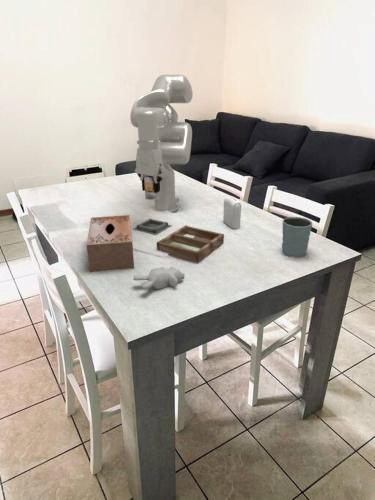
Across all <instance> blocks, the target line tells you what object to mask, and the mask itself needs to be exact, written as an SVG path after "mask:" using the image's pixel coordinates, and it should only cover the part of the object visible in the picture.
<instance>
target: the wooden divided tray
mask: <svg viewBox="0 0 375 500" xmlns="http://www.w3.org/2000/svg"><path fill="white" fill-rule="evenodd" d="M186 235H190V236H193V237H189V236H186ZM224 239H225V233H220V232H216V231H211V230H208V229H207V230H206V229H202V228H198V227H193V226H190V225H183V226H182V227H180V228H179V229H177V230H176V231H174V232H172V233H169V235H167V236H165V237H163V238H162V239H160V240H159V241H157V242H156V251H161V252H163V253H167V256H171V257H174V258H178V259H180V260H181V259H182V260H185V261H188V262H192V263H195V264H199V263H201V262H202V261H203V260H205V259H206V258H207V257H208V256H209V255H211V254H212V253H213V252H215V251H216V250H217V249H218V248H220V247H221V246H222V245H223V244H224Z"/></svg>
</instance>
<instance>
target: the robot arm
mask: <svg viewBox="0 0 375 500" xmlns="http://www.w3.org/2000/svg"><path fill="white" fill-rule="evenodd" d="M192 98H193V88H192V85H191V83H190V81H189V79H188V78H187V77H186V76H185V75H183V74H161V75H159V76H157V77H156V79H155V81H154V84H153V86H152V89H151V90H150V92H148V93H146V94H144V95H141V96H139V98H138V99H136V100H135V101H134V103H133V105H132V108H131V110H130V116H129V117H130V118H129V119H130V123H131V124H132V126H133V127H134V128H137V137H138V138H137V139H138V140H137V141H136V144H138V147H137V149H136V160H135V167H136V168H135V169H134V172H135V173H136V175H137V176H138V178H139V180H140V181H141V187H142V188H141V189H142V191H143V192H145V186H144V175H147V176H153V178H154V181H155V183H154V193H157V192H158V198H157V199H154V202H155V203H154V204H155V205H153V206H152V207H151V208H152V210H153V211H155V212H159V213H176V212H178V211H179V206H178V205H177V203H178V202H179V201H180V198H179V197H176V179H175V178H176V174H175V171H174V169H173V168H172V166H171V165H186V164H188V163H189V161H190V157H191V151H192V150H191V149H192V142H193V141H192V139H193V129H192V126H191V124H190V123H188V122H187V121H184V122H183V121H178V120H179V116H178V115H179V113H177V110H175V108H174V107H173V106H172V105H171V104H189V103H191V102H192Z"/></svg>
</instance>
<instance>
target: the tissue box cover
mask: <svg viewBox="0 0 375 500" xmlns="http://www.w3.org/2000/svg"><path fill="white" fill-rule="evenodd" d="M132 237H133V236H132V227H131V221H130V215H128V214H124V215H114V216H113V215H111V216H109V215H108V216H96V217H93V216H92V217H90V220H89V228H88V233H87V241H86V250H87V258H88V267H89V272H90V273H93V272H94V273H95V272H105V271H117V270H118V271H119V270H120V271H121V270H129V269H135V260H134V259H135V258H134V248H133V247H134V246H133V245H134V244H133V238H132Z"/></svg>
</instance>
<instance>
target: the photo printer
mask: <svg viewBox="0 0 375 500" xmlns="http://www.w3.org/2000/svg"><path fill="white" fill-rule="evenodd" d="M241 214H242V204H241V202H240V200H239V199H237V198H236V197H234V196H232V195H231V196H230V195H229V196H226V197H225V198H224V199H223V218H222V220H223V221H222V222H223V223H224V224H225V225H227V226H228V227H230V228H232V229H233V230H235V229H237V230H238V229H239V228H240V227H241V217H242V215H241Z"/></svg>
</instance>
